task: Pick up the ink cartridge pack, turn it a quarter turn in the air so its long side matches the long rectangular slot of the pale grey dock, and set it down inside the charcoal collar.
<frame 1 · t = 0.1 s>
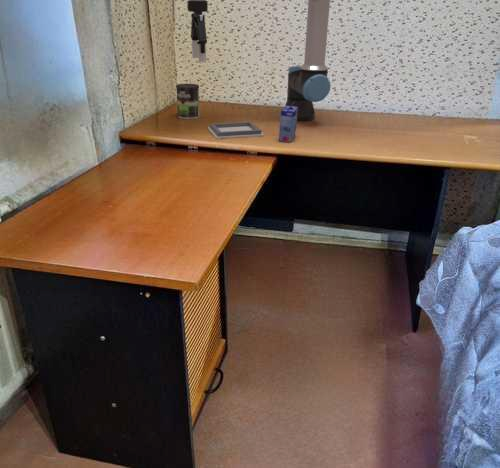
hand: (199, 60, 188), 28 cm above the table, fingers open, 13 cm apart
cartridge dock: (235, 132, 199), on the table
coffee can: (188, 117, 223), on the table
ink cartridge box: (287, 139, 192), on the table
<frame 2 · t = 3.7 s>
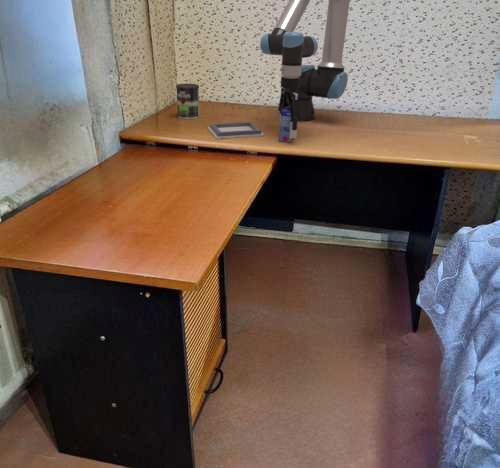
hand: (287, 134, 191), 2 cm above the table, fingers closed on ink cartridge box, 11 cm apart
ink cartridge box: (287, 139, 192), on the table, touching gripper
everything else where it was.
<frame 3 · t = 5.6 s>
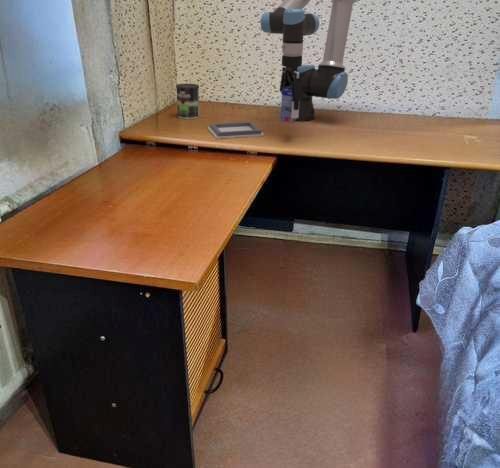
hand: (289, 114, 187), 10 cm above the table, fingers closed on ink cartridge box, 11 cm apart
ink cartridge box: (289, 120, 188), point 7 cm above the table, touching gripper
everything else where it was.
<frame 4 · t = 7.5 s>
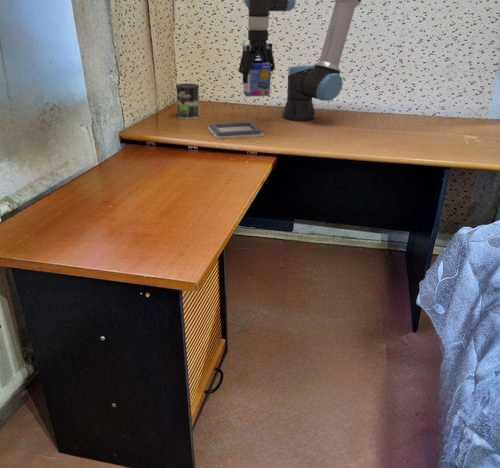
hand: (256, 90, 188), 18 cm above the table, fingers closed on ink cartridge box, 11 cm apart
ink cartridge box: (256, 95, 189), point 16 cm above the table, touching gripper
everything else where it was.
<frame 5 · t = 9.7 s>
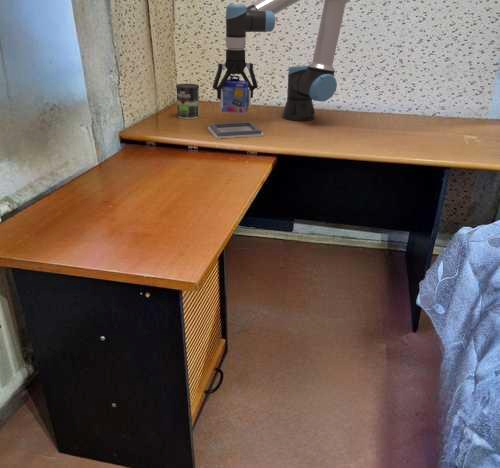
hand: (235, 106, 194), 11 cm above the table, fingers closed on ink cartridge box, 11 cm apart
ink cartridge box: (234, 112, 195), point 8 cm above the table, touching gripper
everything else where it was.
when the fingers open (5 cm above the table, at t = 11.2 s): ink cartridge box drops 3 cm, resting on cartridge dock.
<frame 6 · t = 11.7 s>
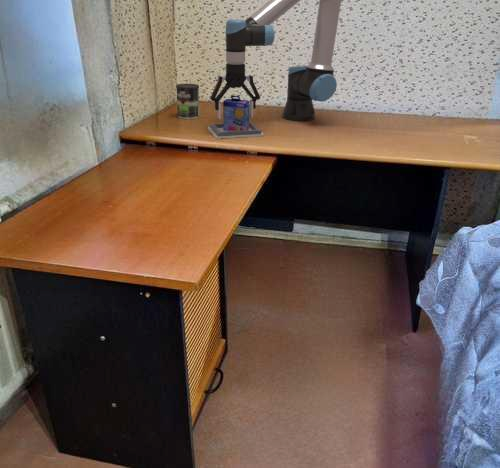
hand: (235, 117, 196), 6 cm above the table, fingers open, 13 cm apart
ink cartridge box: (236, 130, 199), point 1 cm above the table, touching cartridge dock
everything else where it was.
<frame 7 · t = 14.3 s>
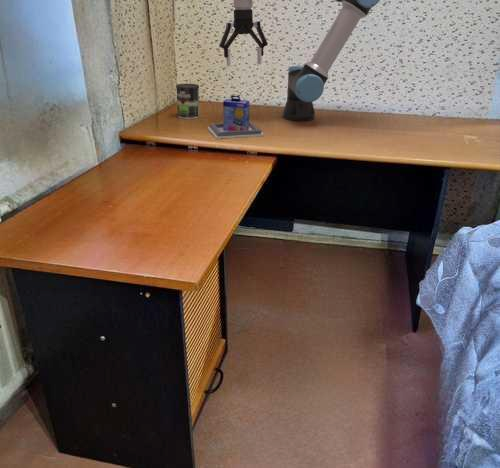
hand: (244, 65, 199), 25 cm above the table, fingers open, 13 cm apart
nothing on the table moved.
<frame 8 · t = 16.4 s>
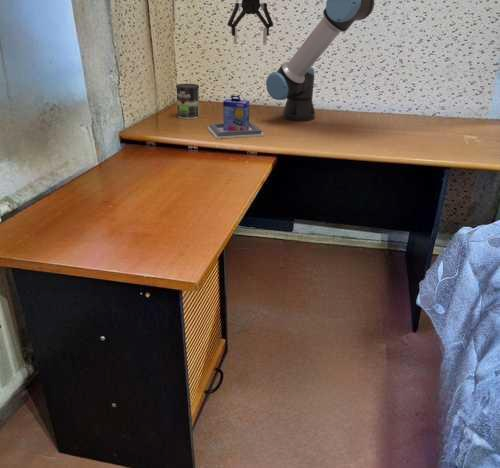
hand: (250, 43, 212), 32 cm above the table, fingers open, 13 cm apart
nothing on the table moved.
at the end: ink cartridge box 0.4 cm off-centre on the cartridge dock, point 0.6 cm above the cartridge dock's base; ink cartridge box tilted 0°; the gripper is holding nothing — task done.
